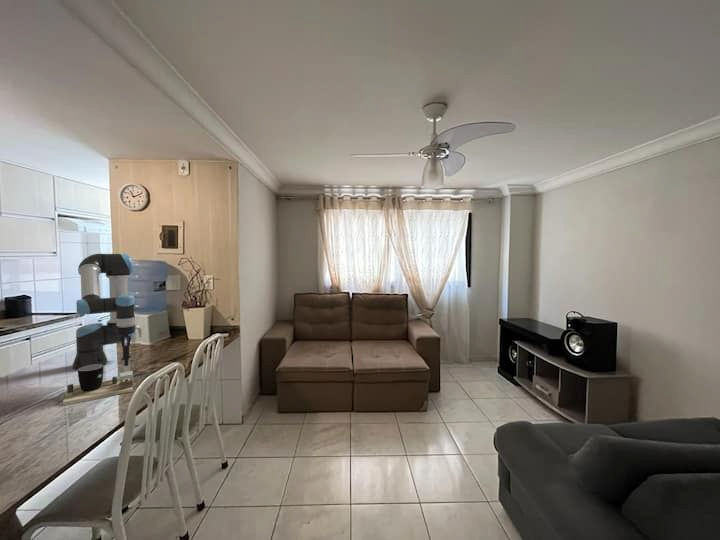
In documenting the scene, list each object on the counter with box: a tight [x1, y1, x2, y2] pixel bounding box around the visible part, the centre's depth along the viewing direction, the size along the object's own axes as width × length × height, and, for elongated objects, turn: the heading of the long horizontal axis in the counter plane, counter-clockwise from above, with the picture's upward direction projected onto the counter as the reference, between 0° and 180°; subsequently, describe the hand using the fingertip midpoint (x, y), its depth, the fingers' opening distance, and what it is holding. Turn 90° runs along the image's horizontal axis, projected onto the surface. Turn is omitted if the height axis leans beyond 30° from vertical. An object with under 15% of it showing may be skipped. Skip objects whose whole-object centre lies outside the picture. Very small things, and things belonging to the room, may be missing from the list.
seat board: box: [62, 376, 134, 406], centre depth 147 cm, size 20×24×4 cm
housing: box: [118, 370, 134, 382], centre depth 150 cm, size 6×5×5 cm
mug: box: [77, 364, 104, 392], centre depth 146 cm, size 12×9×10 cm
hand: (126, 371), depth 159 cm, fingers closed
